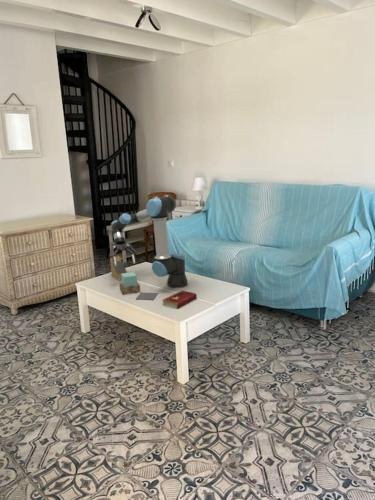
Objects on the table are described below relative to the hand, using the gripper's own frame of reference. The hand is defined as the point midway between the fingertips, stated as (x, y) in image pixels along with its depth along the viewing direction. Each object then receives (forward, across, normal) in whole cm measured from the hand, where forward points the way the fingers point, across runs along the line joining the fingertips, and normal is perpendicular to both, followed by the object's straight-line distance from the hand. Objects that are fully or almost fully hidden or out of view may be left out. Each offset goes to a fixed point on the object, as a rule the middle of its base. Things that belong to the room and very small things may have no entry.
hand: (125, 264), depth 286 cm
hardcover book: (+44, -26, +19) cm, 54 cm away
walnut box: (+19, 0, -5) cm, 20 cm away
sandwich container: (-5, 0, -29) cm, 30 cm away
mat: (+30, -8, +7) cm, 32 cm away
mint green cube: (+16, 0, -1) cm, 16 cm away
